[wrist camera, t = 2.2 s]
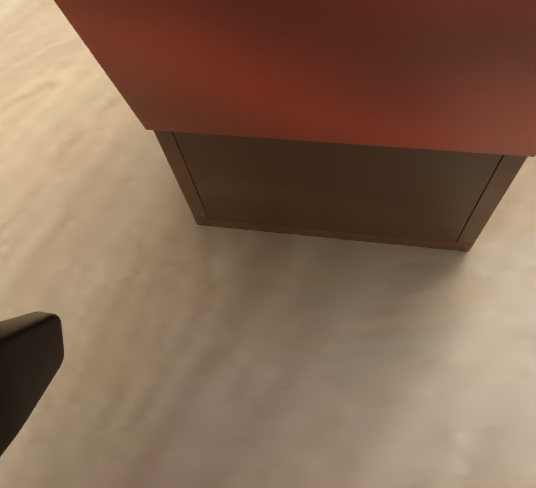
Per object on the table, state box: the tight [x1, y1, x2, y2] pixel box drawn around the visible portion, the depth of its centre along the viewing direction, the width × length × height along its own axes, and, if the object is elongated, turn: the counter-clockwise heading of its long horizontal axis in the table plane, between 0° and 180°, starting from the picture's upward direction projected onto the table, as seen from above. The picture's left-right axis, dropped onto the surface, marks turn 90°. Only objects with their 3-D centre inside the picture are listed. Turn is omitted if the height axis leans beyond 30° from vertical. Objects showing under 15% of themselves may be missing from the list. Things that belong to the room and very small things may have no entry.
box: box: [154, 130, 528, 251], centre depth 24 cm, size 13×14×8 cm
